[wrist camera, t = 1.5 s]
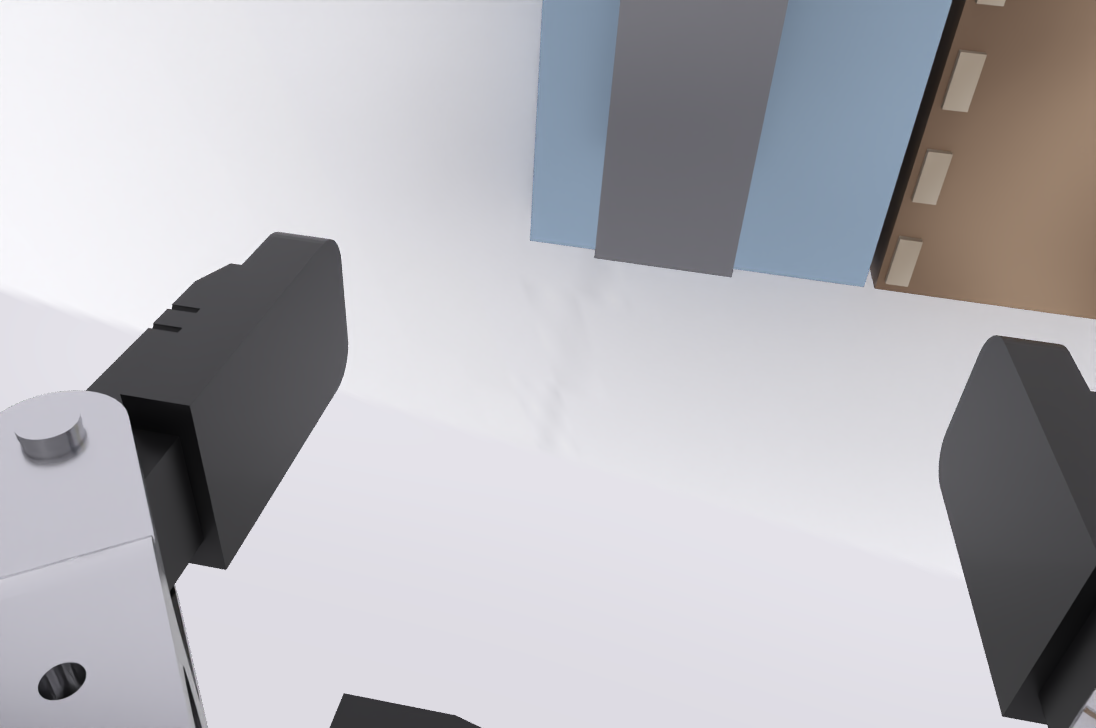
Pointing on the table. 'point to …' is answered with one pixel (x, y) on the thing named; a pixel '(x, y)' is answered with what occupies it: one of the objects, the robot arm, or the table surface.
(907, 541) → the table surface
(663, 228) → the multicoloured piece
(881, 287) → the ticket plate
